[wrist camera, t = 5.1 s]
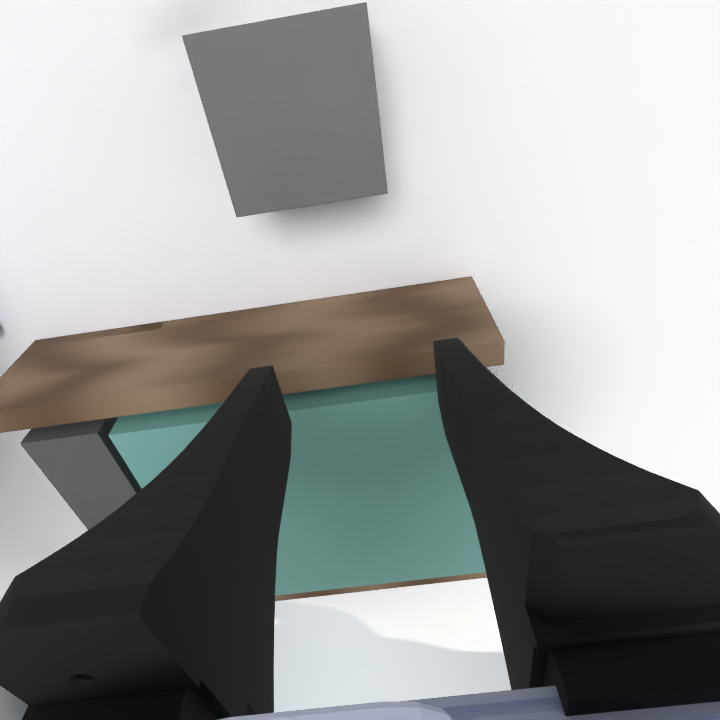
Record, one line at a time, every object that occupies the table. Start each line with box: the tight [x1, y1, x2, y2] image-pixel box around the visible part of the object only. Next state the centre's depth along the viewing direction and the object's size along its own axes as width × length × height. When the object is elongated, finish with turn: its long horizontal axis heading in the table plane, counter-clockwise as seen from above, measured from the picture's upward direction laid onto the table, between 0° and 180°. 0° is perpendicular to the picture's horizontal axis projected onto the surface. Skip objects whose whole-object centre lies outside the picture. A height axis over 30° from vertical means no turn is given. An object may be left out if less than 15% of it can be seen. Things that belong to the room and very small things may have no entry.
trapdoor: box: [20, 374, 486, 596], centre depth 22 cm, size 18×12×3 cm
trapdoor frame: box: [0, 277, 504, 601], centre depth 23 cm, size 20×15×5 cm
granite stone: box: [182, 2, 388, 217], centre depth 15 cm, size 4×4×4 cm
